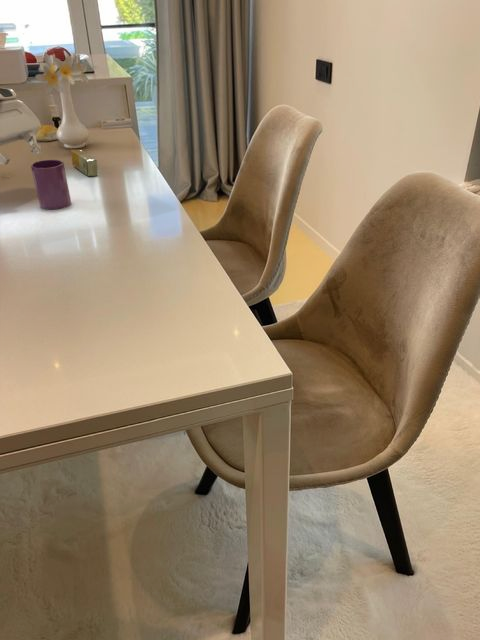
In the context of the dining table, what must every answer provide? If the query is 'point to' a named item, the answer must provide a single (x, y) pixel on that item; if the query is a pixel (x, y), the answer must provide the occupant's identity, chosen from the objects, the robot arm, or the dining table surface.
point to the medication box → (84, 162)
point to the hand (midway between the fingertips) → (23, 157)
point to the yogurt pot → (51, 184)
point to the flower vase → (65, 95)
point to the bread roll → (47, 133)
